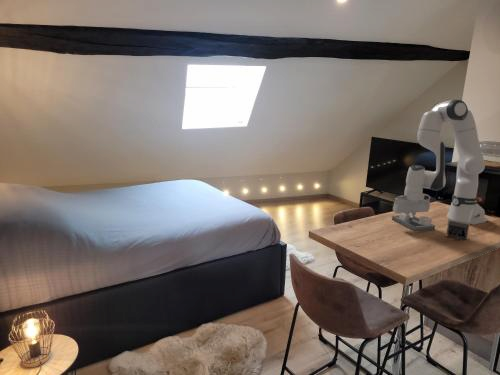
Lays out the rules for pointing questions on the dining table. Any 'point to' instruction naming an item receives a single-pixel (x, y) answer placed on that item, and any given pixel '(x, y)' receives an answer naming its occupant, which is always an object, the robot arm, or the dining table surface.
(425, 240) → the dining table surface
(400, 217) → the white sliding block
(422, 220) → the white cube-shaped block
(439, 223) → the dining table surface
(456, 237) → the electrical switch
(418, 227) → the switch board
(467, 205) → the robot arm
